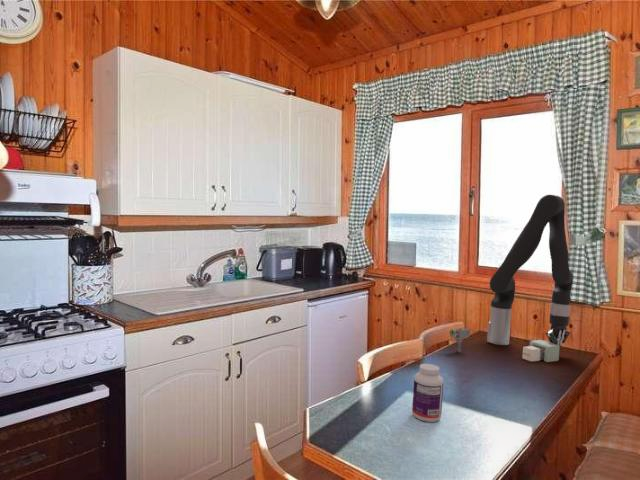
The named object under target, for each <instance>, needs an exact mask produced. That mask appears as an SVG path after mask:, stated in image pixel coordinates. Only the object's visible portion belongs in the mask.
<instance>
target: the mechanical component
mask: <svg viewBox="0 0 640 480" xmlns="http://www.w3.org/2000/svg"><path fill="white" fill-rule="evenodd" d="M470 333H471V329H469V328H466V327H460V328H459V327H458V328H456V330H455V329H451V330H449V337H450V338H452V339H454V340H455V342H456V343H457V344H456V352H458V353H461V349H462V343H463V339H468V338H469V337H470Z"/></svg>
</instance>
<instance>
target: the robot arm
mask: <svg viewBox="0 0 640 480" xmlns="http://www.w3.org/2000/svg"><path fill="white" fill-rule="evenodd" d="M565 210H566V207H565V201H564V199H563V198H562V197H561V196H559V195H556V194H545V195H543V196H541V198H540V199H539V200H538V202H537V203H536V206H535V208H534V209H533V212H532V214H531V216H530V218H529V220H528V221H527V223H526V224H525V226H524V227H523V229H522V231H521V232H520V233H519V235H518V237H517V238H516V240H515V241H514V243H513V244H512V247H511V248H510V250H509V251H508V254H507V255H506V256H505V259H504V260H503V262H502V263H501V265H500V266H499V267H498V269H497V270H496V271H495V272H494V274H493V275H492V276H491V278H490V280H489V288H490V290H491V291H492V292H493V293H494V296H493V298H492V299H491V301H490V310H489V311H490V312H489V313H490V314H489V322H488V325H487V337H486V339H487V340H486V342H487V343H490V344H492V345H496V346H509V344H510V337H511V336H510V333H511V323H512V322H511V321H512V320H511V319H512V308H513V307H512V306H513V304H514V301H515V293H516V280H515V277H514V275H516V273H517V272H518V270H519V269H520V268H521V267H522V266H524V265H525V264H526V263H527V262H528V261H529V260H530V259H531V258H532V256H533V254H534V253H535V252H536V250H537V249H538V247H539V245H540V243H541V240H542V236H543V233H544V230H545V228H546V226H547V225H548V224H549V225H548V226H549V233H548V234H549V235H548V248H549V255H550V260H551V276H552V279H553V282H554V289H553V291H552V294H551V304H550V309H549V319H548V320H549V321H548V323H549V324H550V328H549V331H546V332H545V335H546V337H547V338H548V342H550V343H553V344H556V345H560V348H559V354H560V352H561V346H562V345H563V344H565V342H566V341H567V339H568V337H569V335H570V334H571V333H570V331H568V330H567V327H568V326H569V325H570V314H571V313H570V312H571V292H572V288H573V282H574V275H573V272H572V271H571V269H570V265H569V260H570V254H569V249H568V243H567V235H566V227H565V226H566V225H565V223H566V222H565V212H566V211H565Z"/></svg>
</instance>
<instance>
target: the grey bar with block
mask: <svg viewBox="0 0 640 480" xmlns="http://www.w3.org/2000/svg"><path fill="white" fill-rule="evenodd" d="M540 350H541V349H539V348H536V347H533V346H530V345H528V346H523V348H522V359H523V360H526V361H528V362H540V361H542V360H543V361H544V356H545V349H543V350H542V351H540Z"/></svg>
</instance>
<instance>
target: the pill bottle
mask: <svg viewBox="0 0 640 480" xmlns="http://www.w3.org/2000/svg"><path fill="white" fill-rule="evenodd" d="M440 370H441V369H440V366H438V365H435V364H432V363H421V364H420V365H419V371H418V372H417V373H415V374H414V378H413V394H412V404H411V405H412V408H411V413H412V416H413V417H414V418H415V419H417V420H420V421H423V422H427V423H435V422H437V421H440V419H441V418H442V409H443V397H444V395H443V394H444V393H443V392H444V378H443V377H442V375H440V373H441V372H440Z"/></svg>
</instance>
